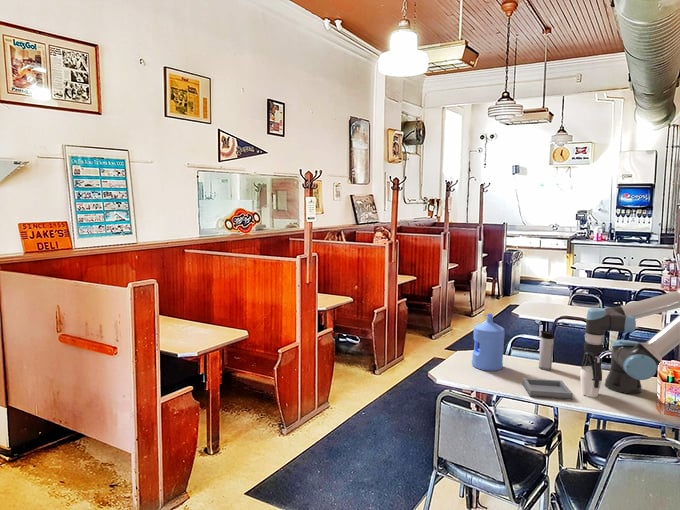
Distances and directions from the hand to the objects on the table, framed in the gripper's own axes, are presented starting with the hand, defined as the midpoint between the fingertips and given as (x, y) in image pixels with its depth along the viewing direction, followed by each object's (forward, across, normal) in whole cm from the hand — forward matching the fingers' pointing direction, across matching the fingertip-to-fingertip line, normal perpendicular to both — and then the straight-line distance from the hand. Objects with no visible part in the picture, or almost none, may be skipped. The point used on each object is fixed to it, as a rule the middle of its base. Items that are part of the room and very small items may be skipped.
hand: (589, 389), depth 230 cm
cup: (+3, 0, 0) cm, 3 cm away
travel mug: (+3, -34, -11) cm, 36 cm away
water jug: (+3, -31, -41) cm, 51 cm away
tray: (+3, 0, -19) cm, 19 cm away
